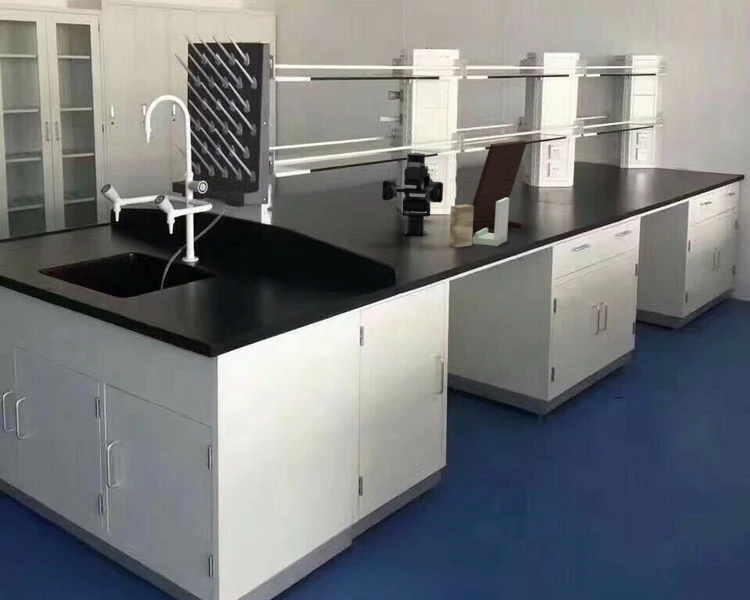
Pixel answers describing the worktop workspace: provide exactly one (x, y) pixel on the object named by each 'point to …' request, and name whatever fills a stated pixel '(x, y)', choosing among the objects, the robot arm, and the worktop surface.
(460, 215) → the oak photo frame
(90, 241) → the worktop surface
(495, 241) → the picture ledge
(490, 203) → the picture frame
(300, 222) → the worktop surface
